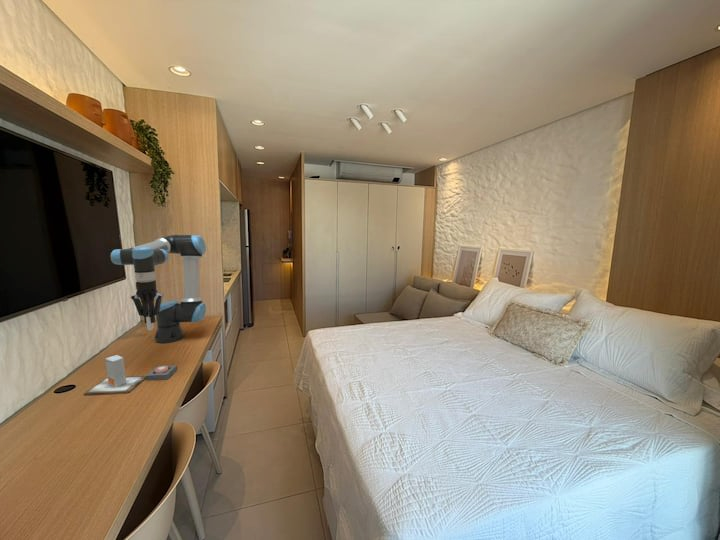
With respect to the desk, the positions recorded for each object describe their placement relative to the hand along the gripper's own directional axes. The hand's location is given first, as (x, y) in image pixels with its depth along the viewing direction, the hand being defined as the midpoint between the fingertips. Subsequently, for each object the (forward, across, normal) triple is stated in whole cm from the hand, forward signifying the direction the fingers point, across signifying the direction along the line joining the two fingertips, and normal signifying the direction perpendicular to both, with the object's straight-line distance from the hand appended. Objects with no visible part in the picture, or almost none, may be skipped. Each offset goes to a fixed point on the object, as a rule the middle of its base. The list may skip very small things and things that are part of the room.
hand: (150, 329), depth 135 cm
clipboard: (+21, -8, -13) cm, 26 cm away
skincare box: (+20, -8, -13) cm, 25 cm away
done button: (+20, +6, -5) cm, 22 cm away
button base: (+21, +6, -6) cm, 22 cm away
